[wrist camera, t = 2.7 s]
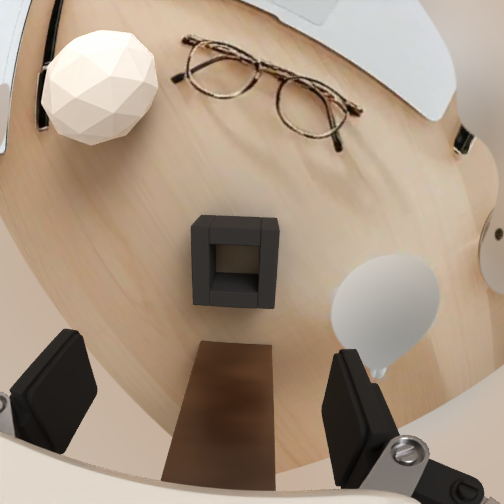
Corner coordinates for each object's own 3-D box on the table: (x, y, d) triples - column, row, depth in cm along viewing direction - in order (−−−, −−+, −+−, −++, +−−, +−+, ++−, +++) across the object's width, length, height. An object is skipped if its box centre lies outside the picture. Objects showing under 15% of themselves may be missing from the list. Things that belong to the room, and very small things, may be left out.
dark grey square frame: (277, 217, 23) (279, 229, 20) (272, 288, 25) (274, 309, 21) (200, 214, 23) (190, 225, 20) (201, 284, 25) (193, 305, 21)
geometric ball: (158, 87, 22) (202, 73, 16) (92, 162, 22) (109, 175, 16) (97, 28, 17) (119, -12, 11) (23, 105, 17) (11, 92, 11)
